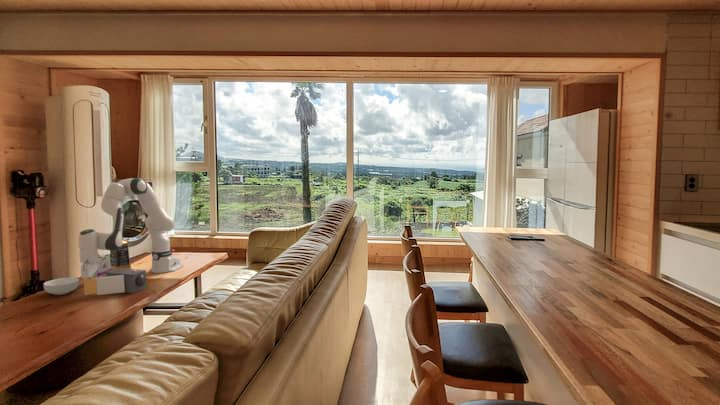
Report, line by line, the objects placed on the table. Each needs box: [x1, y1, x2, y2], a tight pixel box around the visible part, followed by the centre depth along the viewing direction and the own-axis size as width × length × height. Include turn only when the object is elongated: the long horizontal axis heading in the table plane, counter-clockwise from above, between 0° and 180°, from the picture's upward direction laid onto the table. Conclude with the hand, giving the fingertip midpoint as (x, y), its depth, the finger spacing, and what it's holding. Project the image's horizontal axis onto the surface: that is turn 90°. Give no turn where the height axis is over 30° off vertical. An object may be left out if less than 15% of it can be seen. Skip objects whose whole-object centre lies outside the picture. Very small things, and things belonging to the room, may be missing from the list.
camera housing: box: [105, 268, 148, 294], centre depth 246 cm, size 10×22×12 cm, turn 74°
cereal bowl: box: [43, 277, 80, 296], centre depth 239 cm, size 17×17×7 cm
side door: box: [83, 275, 126, 296], centre depth 235 cm, size 20×2×10 cm, turn 112°
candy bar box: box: [93, 253, 112, 278], centre depth 262 cm, size 11×5×16 cm, turn 168°
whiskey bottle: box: [109, 239, 132, 270], centre depth 284 cm, size 10×10×32 cm
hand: (90, 281), depth 235 cm, fingers closed
